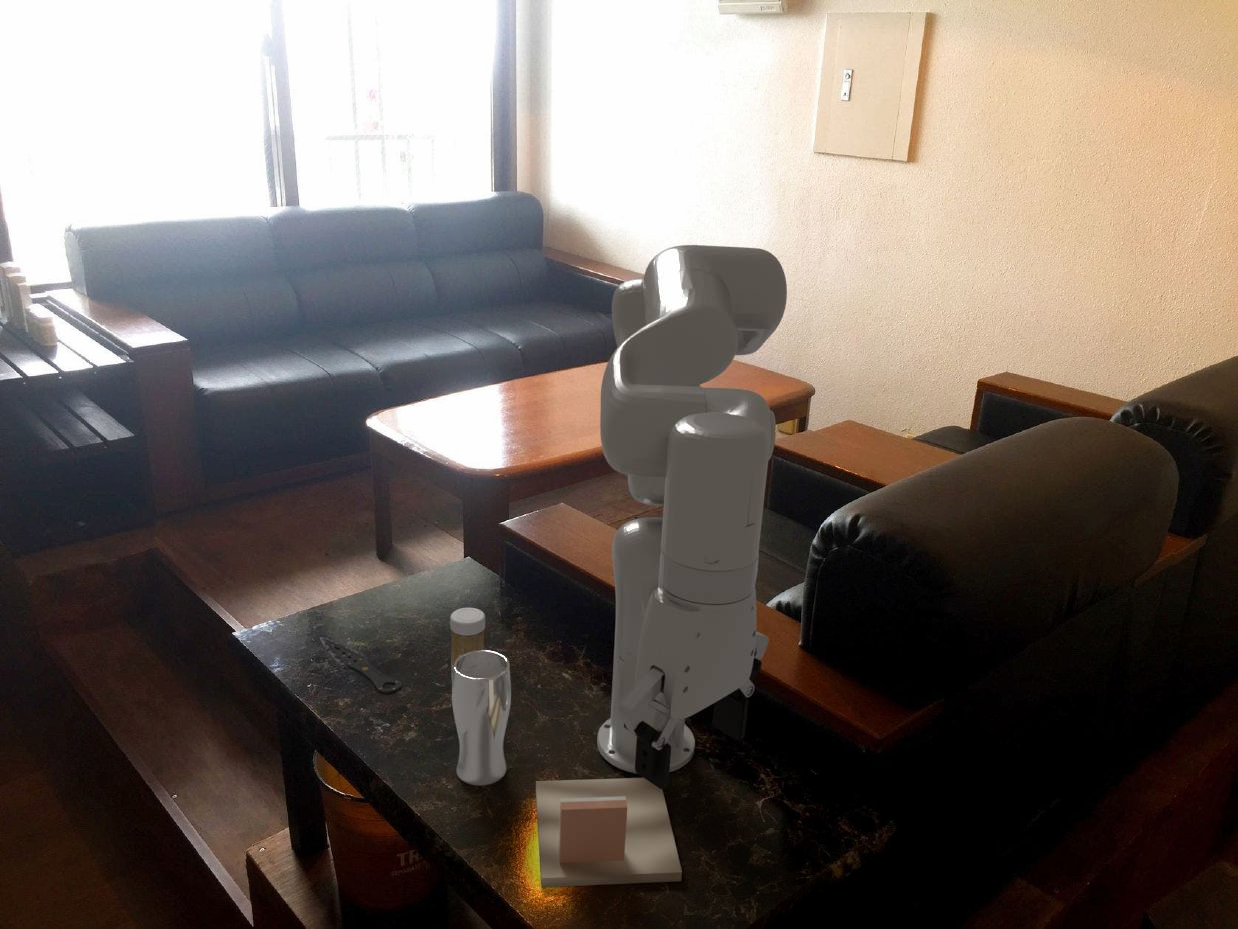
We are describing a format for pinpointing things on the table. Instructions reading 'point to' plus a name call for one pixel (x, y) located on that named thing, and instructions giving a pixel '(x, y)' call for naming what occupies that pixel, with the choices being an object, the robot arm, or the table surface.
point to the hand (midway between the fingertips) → (691, 755)
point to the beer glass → (481, 714)
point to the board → (644, 842)
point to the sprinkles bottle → (466, 633)
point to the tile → (592, 829)
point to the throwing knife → (360, 665)
